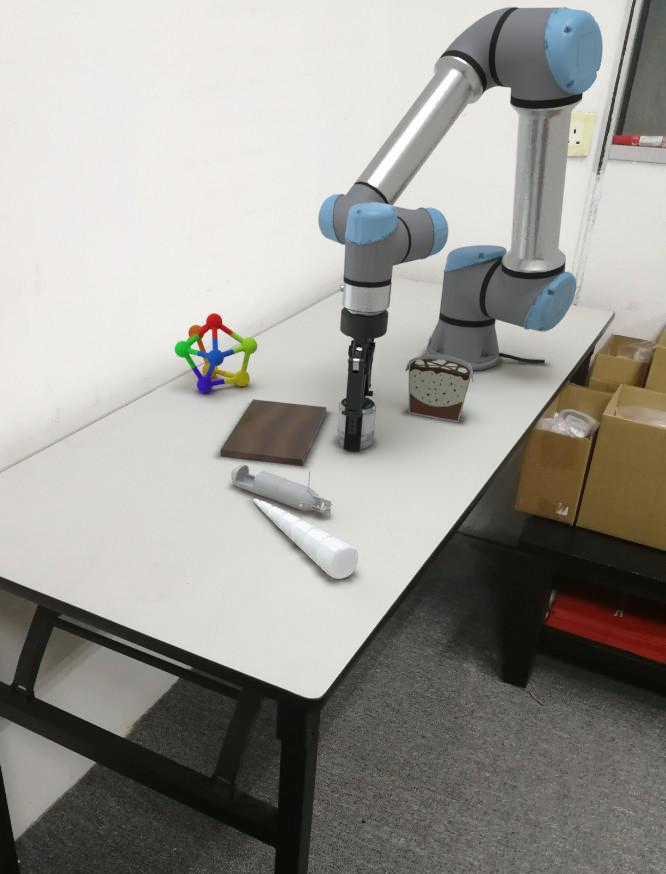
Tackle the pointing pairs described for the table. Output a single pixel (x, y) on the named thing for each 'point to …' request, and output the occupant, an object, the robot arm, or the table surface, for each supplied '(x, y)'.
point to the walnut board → (275, 432)
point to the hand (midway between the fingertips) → (354, 440)
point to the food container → (438, 386)
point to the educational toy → (215, 354)
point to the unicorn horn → (314, 542)
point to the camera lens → (367, 422)
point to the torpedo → (280, 489)
